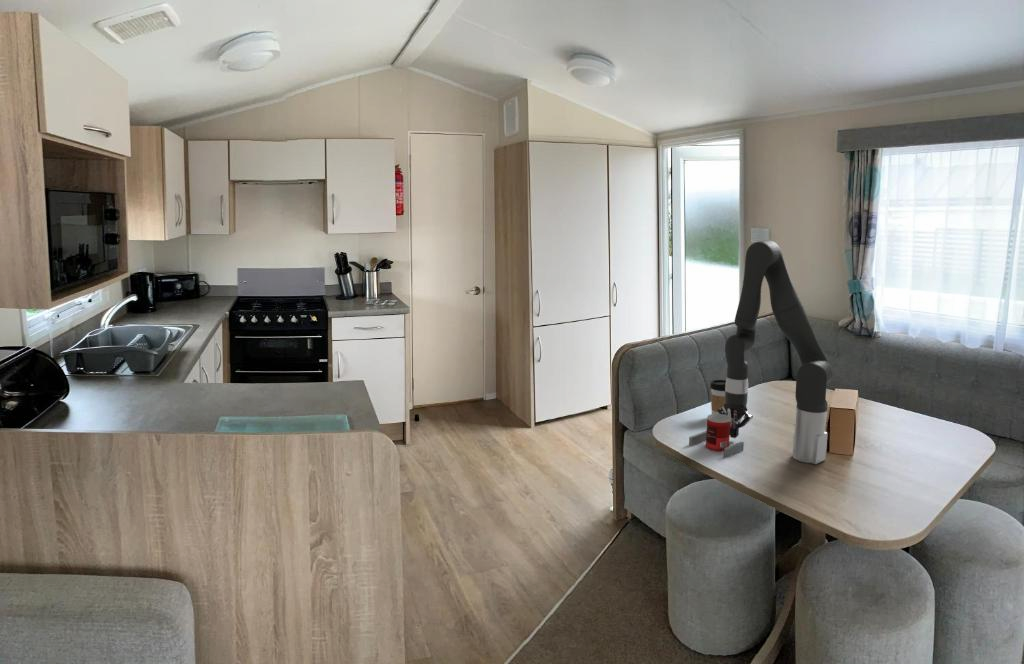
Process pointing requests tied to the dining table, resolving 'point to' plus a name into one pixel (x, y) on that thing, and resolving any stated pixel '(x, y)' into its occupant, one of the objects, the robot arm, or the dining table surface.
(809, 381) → the robot arm
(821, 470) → the dining table surface
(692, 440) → the lane rails
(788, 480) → the dining table surface
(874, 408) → the dining table surface
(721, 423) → the canned food
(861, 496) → the dining table surface
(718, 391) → the coffee cup
